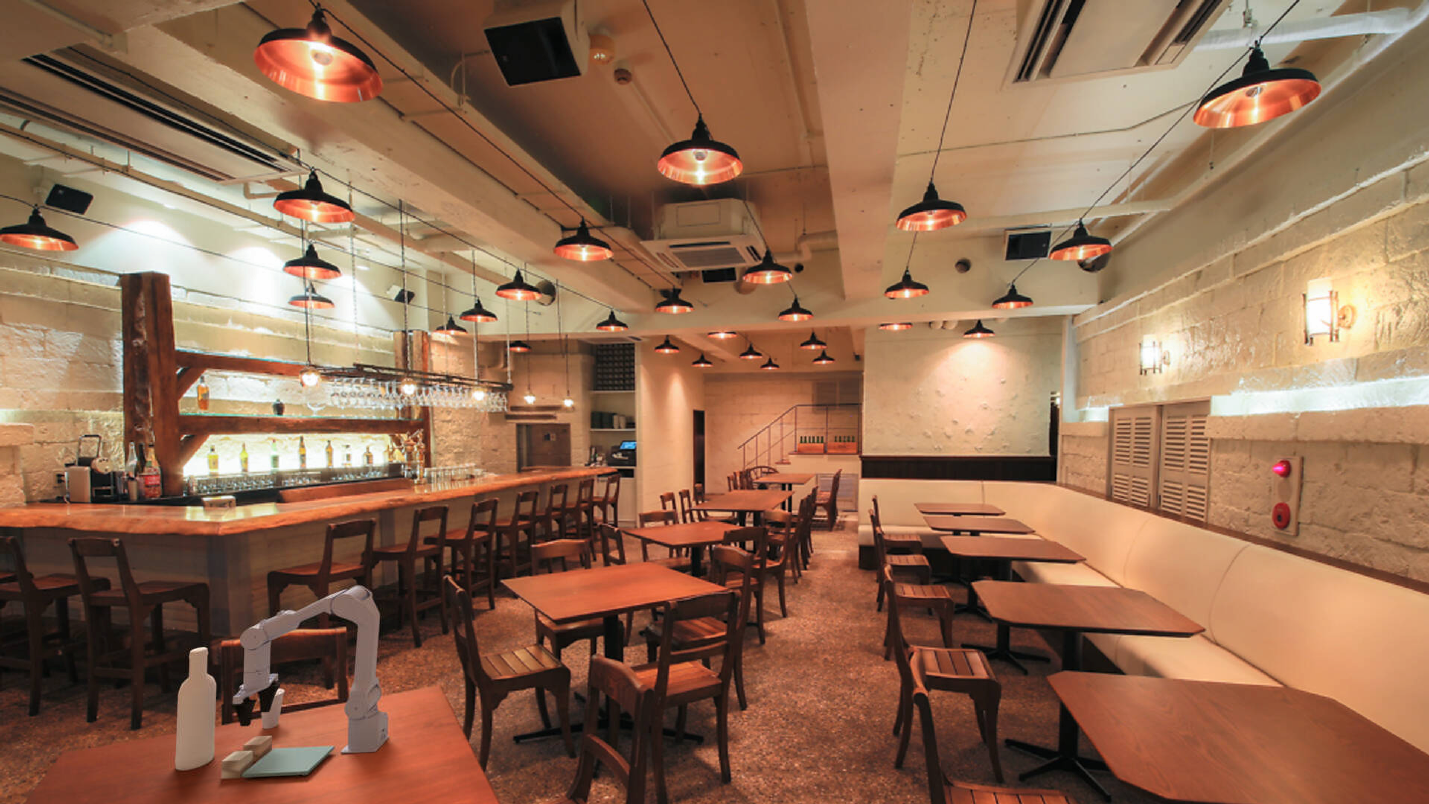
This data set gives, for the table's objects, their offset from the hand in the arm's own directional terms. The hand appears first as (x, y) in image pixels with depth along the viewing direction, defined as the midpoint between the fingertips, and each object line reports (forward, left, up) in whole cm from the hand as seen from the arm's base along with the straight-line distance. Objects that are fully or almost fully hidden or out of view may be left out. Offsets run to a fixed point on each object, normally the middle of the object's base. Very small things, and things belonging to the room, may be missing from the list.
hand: (255, 718), depth 161 cm
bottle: (+13, +3, -10) cm, 17 cm away
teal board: (-14, +7, -10) cm, 18 cm away
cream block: (-2, +9, -10) cm, 13 cm away
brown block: (-2, +1, -10) cm, 10 cm away
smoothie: (+6, -16, -10) cm, 20 cm away
